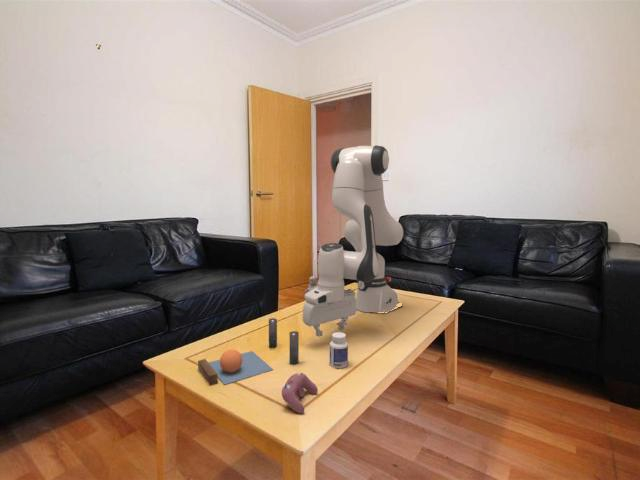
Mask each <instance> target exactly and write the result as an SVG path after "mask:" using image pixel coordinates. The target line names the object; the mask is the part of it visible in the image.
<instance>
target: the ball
mask: <svg viewBox="0 0 640 480" xmlns="http://www.w3.org/2000/svg"><path fill="white" fill-rule="evenodd" d="M241 354H242V353H240V352H239V351H238V350H236V349H232V348H231V349H227V350H226V351H224V352H223V353H222V354H221V356H220V358H219V360H220V366H221V368H222V369H223V370H224V371H226V372H229V373H232V372H235V371H237V370H238V369H239V368H240V367H241V365H242V356H241Z"/></svg>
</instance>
